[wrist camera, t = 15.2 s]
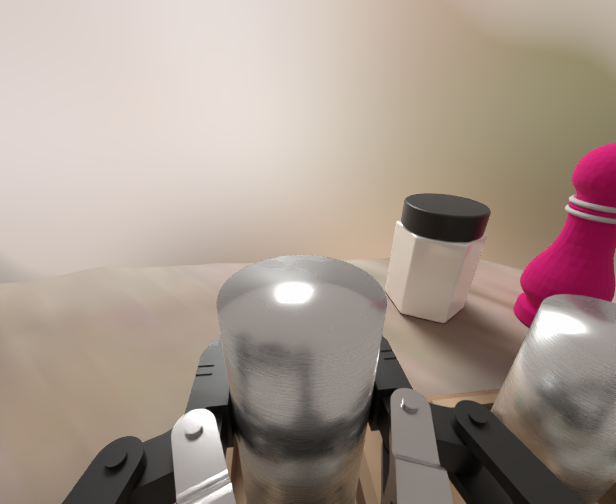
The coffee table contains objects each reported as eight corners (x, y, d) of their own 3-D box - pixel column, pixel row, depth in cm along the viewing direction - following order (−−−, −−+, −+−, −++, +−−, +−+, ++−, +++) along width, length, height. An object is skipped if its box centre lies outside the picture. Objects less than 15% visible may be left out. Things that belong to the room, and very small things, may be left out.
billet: (242, 573, 11) (199, 362, 6) (250, 440, 15) (228, 257, 11) (369, 551, 12) (418, 343, 7) (341, 429, 16) (358, 252, 11)
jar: (459, 290, 37) (488, 198, 31) (466, 330, 30) (505, 222, 24) (388, 275, 39) (403, 189, 34) (379, 310, 32) (396, 208, 27)
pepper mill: (600, 328, 30) (727, 123, 22) (573, 354, 27) (710, 123, 18) (526, 294, 36) (602, 119, 27) (495, 312, 33) (571, 119, 24)
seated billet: (514, 542, 14) (635, 389, 9) (455, 438, 18) (513, 297, 13) (603, 526, 15) (760, 375, 10) (524, 429, 19) (605, 291, 14)
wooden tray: (202, 738, 10) (185, 723, 9) (234, 430, 20) (228, 397, 18) (683, 625, 13) (738, 597, 11) (502, 401, 22) (518, 369, 21)
